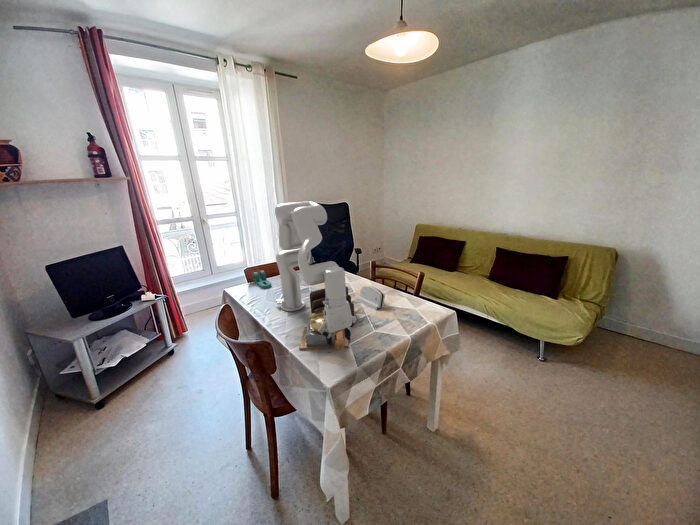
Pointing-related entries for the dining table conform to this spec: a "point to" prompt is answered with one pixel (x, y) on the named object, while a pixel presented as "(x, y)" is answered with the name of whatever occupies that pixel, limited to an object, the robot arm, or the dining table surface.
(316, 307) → the letter holder
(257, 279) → the bracket
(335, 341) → the gold rounded piece
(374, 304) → the hinge
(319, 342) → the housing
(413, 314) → the dining table surface
